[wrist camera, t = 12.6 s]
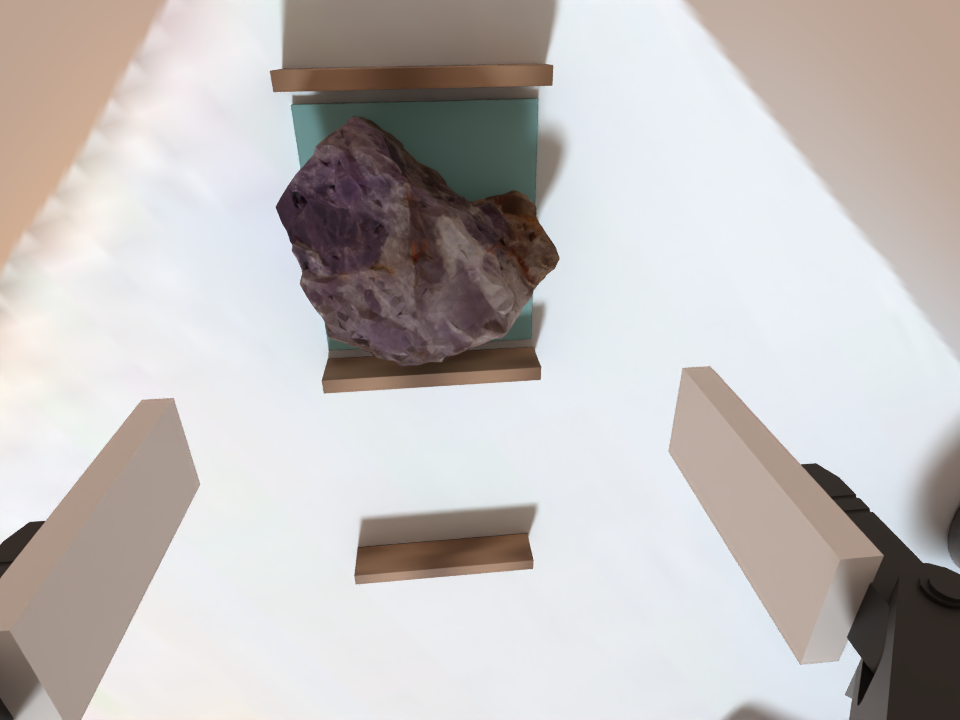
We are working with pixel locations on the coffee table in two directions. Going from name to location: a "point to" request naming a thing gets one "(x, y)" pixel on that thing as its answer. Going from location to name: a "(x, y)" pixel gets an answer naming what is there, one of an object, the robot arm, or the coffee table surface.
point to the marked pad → (446, 149)
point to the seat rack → (452, 371)
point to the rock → (408, 250)
